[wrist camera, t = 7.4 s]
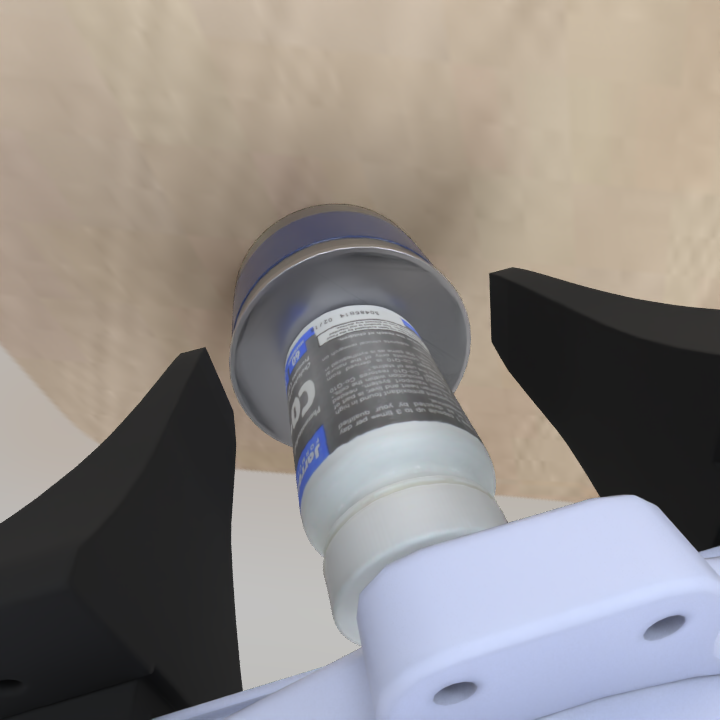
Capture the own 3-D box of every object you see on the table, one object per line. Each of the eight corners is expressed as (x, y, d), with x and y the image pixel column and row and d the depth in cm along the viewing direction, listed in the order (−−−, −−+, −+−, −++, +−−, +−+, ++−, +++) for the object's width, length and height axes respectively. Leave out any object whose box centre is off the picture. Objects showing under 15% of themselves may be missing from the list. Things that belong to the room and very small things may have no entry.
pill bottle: (267, 318, 15) (287, 558, 8) (416, 286, 15) (557, 488, 8) (299, 432, 18) (335, 686, 11) (425, 403, 18) (538, 628, 11)
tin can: (320, 409, 24) (336, 486, 19) (187, 294, 19) (172, 363, 15) (460, 304, 22) (510, 365, 18) (349, 153, 18) (382, 187, 13)
